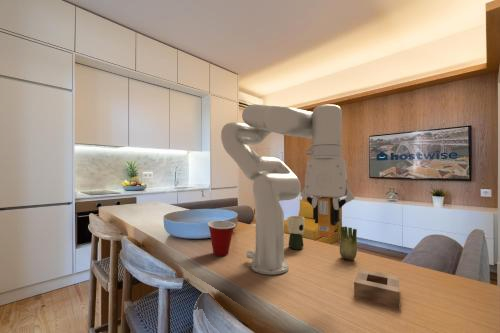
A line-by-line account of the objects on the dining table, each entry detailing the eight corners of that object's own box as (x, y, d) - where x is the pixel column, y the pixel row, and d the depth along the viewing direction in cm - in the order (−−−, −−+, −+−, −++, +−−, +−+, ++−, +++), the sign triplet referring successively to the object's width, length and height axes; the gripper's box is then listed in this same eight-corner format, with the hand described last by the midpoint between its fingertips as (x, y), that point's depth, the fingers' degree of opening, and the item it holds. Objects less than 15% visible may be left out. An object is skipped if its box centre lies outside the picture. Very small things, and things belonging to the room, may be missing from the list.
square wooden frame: (354, 297, 62) (354, 281, 62) (359, 282, 70) (359, 268, 70) (399, 309, 57) (399, 292, 57) (399, 291, 65) (399, 276, 65)
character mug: (299, 253, 95) (300, 220, 95) (283, 250, 99) (283, 218, 99) (307, 246, 104) (307, 216, 105) (292, 243, 108) (292, 214, 108)
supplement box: (321, 233, 65) (322, 196, 65) (334, 235, 62) (335, 197, 63) (316, 235, 62) (317, 197, 62) (329, 238, 60) (330, 198, 60)
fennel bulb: (358, 261, 87) (358, 228, 87) (347, 262, 85) (347, 228, 86) (347, 255, 92) (347, 224, 93) (337, 257, 91) (337, 225, 91)
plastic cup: (221, 261, 86) (222, 227, 86) (201, 254, 92) (201, 223, 93) (240, 253, 94) (241, 222, 95) (221, 247, 101) (221, 219, 101)
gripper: (291, 153, 64) (290, 222, 63) (359, 151, 55) (358, 231, 55) (300, 155, 70) (300, 217, 70) (362, 153, 62) (362, 225, 61)
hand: (325, 222), depth 62 cm, fingers closed on supplement box, 3 cm apart
